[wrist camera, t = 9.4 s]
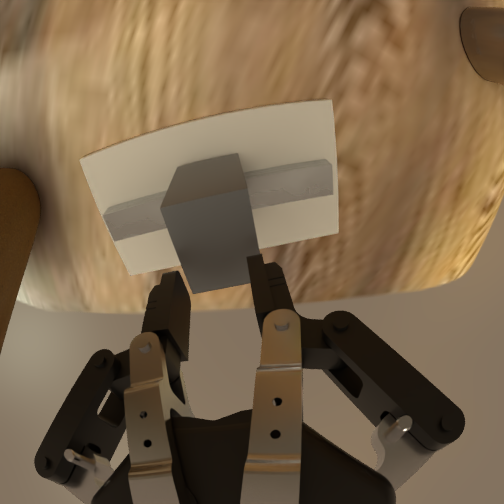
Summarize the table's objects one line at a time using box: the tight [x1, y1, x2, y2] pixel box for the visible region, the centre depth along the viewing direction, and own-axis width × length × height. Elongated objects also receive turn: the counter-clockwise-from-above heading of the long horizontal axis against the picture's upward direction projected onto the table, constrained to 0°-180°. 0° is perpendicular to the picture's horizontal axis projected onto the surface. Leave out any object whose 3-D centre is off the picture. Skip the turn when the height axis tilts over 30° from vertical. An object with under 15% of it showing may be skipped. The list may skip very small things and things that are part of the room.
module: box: [160, 153, 260, 294], centre depth 18 cm, size 4×6×7 cm
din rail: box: [103, 159, 333, 242], centre depth 21 cm, size 18×2×2 cm, turn 100°
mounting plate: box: [80, 99, 339, 276], centre depth 22 cm, size 20×12×1 cm, turn 100°
